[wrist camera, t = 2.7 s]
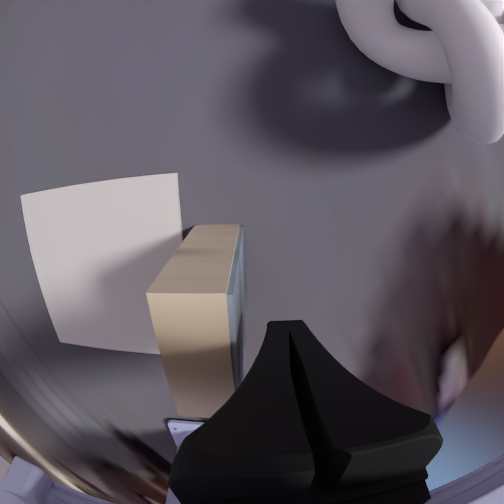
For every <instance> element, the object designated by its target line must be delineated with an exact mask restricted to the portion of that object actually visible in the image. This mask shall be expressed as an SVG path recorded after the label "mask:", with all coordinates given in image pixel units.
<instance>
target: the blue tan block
mask: <svg viewBox="0 0 504 504" xmlns="http://www.w3.org/2000/svg"><path fill="white" fill-rule="evenodd" d="M146 295H147V300H148V305H149V310H150V314H151V319H152V323H153V327H154V332H155V336H156V340H157V344H158V348H159V352H160V355H161V359H162V363H163V367H164V370H165V374H166V377H167V381H168V384H169V387H170V391H171V394H172V397H173V400H174V403H175V407H176V410H177V413H178V416H189V417H204V418H210V417H211V416H212V415H213V414H214V413H215V412H216V411H218V410H219V409H220V408H221V407H222V406H223V405H224V404H225V402H226V401H227V400H228V399H229V398H230V397H231V396H232V394H233V393H234V392H235V391H236V389H237V388H238V387H239V385H240V384H241V383H242V381H243V380H244V368H245V347H246V327H247V305H246V281H245V256H244V229H243V226H240V224H217V225H195V226H194V227H193V228H192V230H191V231H190V232H189V234H188V235H187V236H186V238H185V239H184V241H183V242H182V243H181V245H180V246H179V247H178V249H177V250H176V251H175V253H174V254H173V255H172V257H171V258H170V260H169V261H168V262H167V264H166V265H165V267H164V268H163V269H162V271H161V272H160V274H159V275H158V276H157V278H156V279H155V281H154V282H153V284H152V285H151V286H150V288H149V289H148V291H147V292H146Z"/></svg>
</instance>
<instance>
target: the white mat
mask: <svg viewBox="0 0 504 504" xmlns="http://www.w3.org/2000/svg"><path fill="white" fill-rule="evenodd" d="M21 202H22V209H23V215H24V221H25V226H26V231H27V236H28V241H29V245H30V250H31V254H32V258H33V262H34V266H35V270H36V273H37V277H38V280H39V284H40V287H41V290H42V294H43V297H44V300H45V303H46V306H47V309H48V312H49V314H50V317H51V320H52V323H53V325H54V328H55V330H56V333H57V336H58V338H59V340H60V342H62V343H68V344H74V345H81V346H88V347H95V348H102V349H110V350H119V351H129V352H139V353H151V354H160V352H159V348H158V344H157V340H156V336H155V332H154V327H153V323H152V319H151V314H150V310H149V305H148V300H147V295H146V292H147V291H148V289H149V288H150V286H151V285H152V284H153V282H154V281H155V279H156V278H157V276H158V275H159V274H160V272H161V271H162V269H163V268H164V267H165V265H166V264H167V262H168V261H169V260H170V258H171V257H172V255H173V254H174V253H175V251H176V250H177V249H178V247H179V246H180V245H181V243H182V242H183V233H182V223H181V212H180V200H179V187H178V173H167V174H156V175H146V176H137V177H128V178H120V179H112V180H105V181H98V182H91V183H84V184H78V185H72V186H66V187H60V188H55V189H49V190H44V191H39V192H34V193H29V194H24V195H21Z"/></svg>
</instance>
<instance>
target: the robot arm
mask: <svg viewBox="0 0 504 504" xmlns="http://www.w3.org/2000/svg"><path fill="white" fill-rule="evenodd" d="M168 427H169V429H170V432H171V434H172V437H173V439H174V441H175V444H176V446H177V452H176V455H175V458H174V461H173V463H172V466H171V471H170V476H169V481H168V485H169V490H168V494H167V499H166V504H504V454H503V455H501V456H500V457H498V458H496V459H495V460H493V461H491V462H489V463H487V464H486V465H484V466H482V467H480V468H478V469H477V470H475V471H473V472H471V473H469V474H467V475H465V476H463V477H461V478H459V479H457V480H455V481H452V482H450V483H448V484H445V485H443V486H441V487H438V488H436V489H433V490H431V491H429V490H428V487H427V485H426V482H425V479H427V478H428V473H427V471H426V468H425V467H426V466H427V465H428V464H429V463H430V461H431V460H432V459H433V458H434V457H435V455H436V454H437V453H438V451H439V450H440V448H441V446H442V443H443V438H442V436H441V434H440V432H439V430H438V428H437V426H436V424H435V422H434V421H433V419H432V417H431V416H430V415H429V414H427V413H424V412H421V411H418V410H415V409H413V408H410V407H407V406H405V405H403V404H400V403H398V402H396V401H394V400H392V399H390V398H388V397H386V396H384V395H382V394H381V393H379V392H377V391H376V390H374V389H372V388H371V387H369V386H368V385H366V384H365V383H363V382H362V381H360V380H359V379H358V378H356V377H355V376H354V375H353V374H351V373H350V372H349V371H348V370H346V369H345V368H344V367H343V366H342V365H341V364H340V363H339V362H338V361H337V360H336V359H335V358H334V357H333V356H332V355H331V354H330V353H329V352H328V351H327V350H326V349H325V348H324V347H323V345H322V344H321V343H320V342H319V341H318V340H317V338H316V337H315V336H314V335H313V333H312V332H311V331H310V329H309V328H308V327H307V325H306V324H305V323H304V322H303V321H302V320H289V321H270V322H268V323H267V331H266V335H265V338H264V341H263V344H262V346H261V349H260V351H259V353H258V356H257V357H256V359H255V361H254V363H253V365H252V367H251V369H250V370H249V372H248V374H247V375H246V377H245V378H244V380H243V381H242V383H241V384H240V385H239V387H238V388H237V389H236V391H235V392H234V393H233V394H232V396H231V397H230V398H229V399H228V400H227V401H226V402H225V404H224V405H223V406H222V407H221V408H220V409H219V410H218V411H216V412H215V413H214V414H213V415H212V416H211V417H210V418H209V419H208V420H207V421H206V422H192V421H181V420H169V421H168ZM0 504H114V503H111V502H108V501H104V500H101V499H98V498H95V497H93V496H90V495H87V494H84V493H82V492H79V491H76V490H74V489H71V488H69V487H67V486H64V485H62V484H60V483H57V482H55V481H53V480H52V478H51V477H50V476H49V475H48V474H47V473H46V472H44V471H43V470H42V469H40V468H38V467H37V466H35V465H33V464H31V463H29V462H27V461H25V460H23V459H22V458H20V457H18V456H15V458H14V460H13V462H12V463H11V465H10V468H9V469H8V471H7V473H6V475H5V477H4V479H3V481H2V483H1V485H0Z"/></svg>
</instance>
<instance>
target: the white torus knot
mask: <svg viewBox="0 0 504 504" xmlns="http://www.w3.org/2000/svg"><path fill="white" fill-rule="evenodd" d="M395 1H396V3H397V5H398V7H399V9H400V11H401V12H403V13H404V14H405V15H406V16H407V17H408V18H410V19H411V20H413V21H415V22H418V23H420V24H423V25H425V26H428V27H429V28H431V29H432V31H422V30H416V29H411V28H408V27H405V26H402V25H400V24H399V23H398V22H397V21H396V18H395V16H394V10H393V8H394V0H336V7H337V10H338V13H339V17H340V20H341V22H342V24H343V26H344V28H345V30H346V32H347V34H348V35H349V37H350V39H351V40H352V41H353V43H354V44H355V45H356V46H357V48H358V49H359V50H360V51H361V52H362V53H364V54H365V55H366V56H367V57H368V58H369V59H371V60H372V61H374V62H375V63H377V64H378V65H380V66H382V67H384V68H386V69H388V70H390V71H393V72H395V73H398V74H400V75H403V76H406V77H409V78H412V79H416V80H421V81H427V82H436V83H444V87H445V97H446V103H447V108H448V111H449V114H450V117H451V120H452V123H453V125H454V127H455V128H456V130H457V131H458V132H459V133H460V134H461V135H462V136H463V137H464V138H465V139H467V140H469V141H471V142H474V143H476V144H479V145H484V144H489V143H493V142H496V141H498V140H499V139H500V138H501V137H502V135H503V134H504V0H395Z"/></svg>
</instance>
